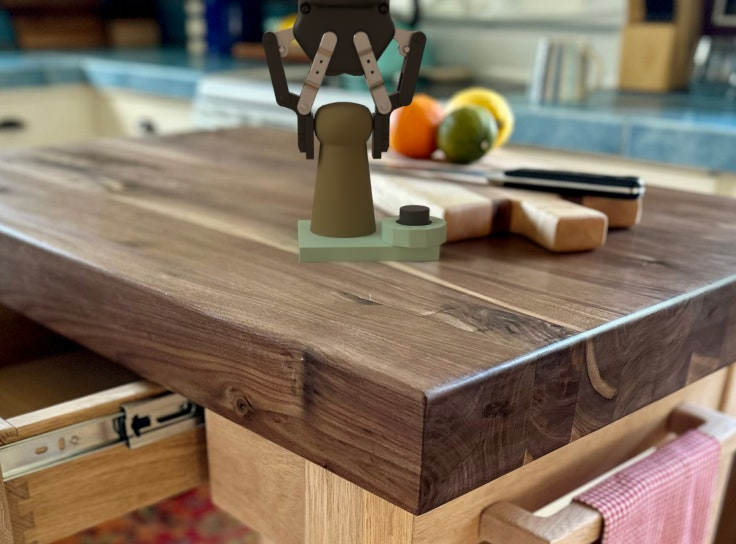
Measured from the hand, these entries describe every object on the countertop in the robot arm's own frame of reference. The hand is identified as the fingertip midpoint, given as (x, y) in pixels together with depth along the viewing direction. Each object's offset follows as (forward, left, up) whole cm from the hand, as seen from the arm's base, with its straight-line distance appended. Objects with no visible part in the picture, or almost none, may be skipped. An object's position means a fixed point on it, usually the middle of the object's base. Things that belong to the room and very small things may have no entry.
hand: (343, 157), depth 77 cm
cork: (0, 0, -7) cm, 7 cm away
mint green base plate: (-2, +1, -8) cm, 8 cm away
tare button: (-6, +4, -5) cm, 9 cm away
